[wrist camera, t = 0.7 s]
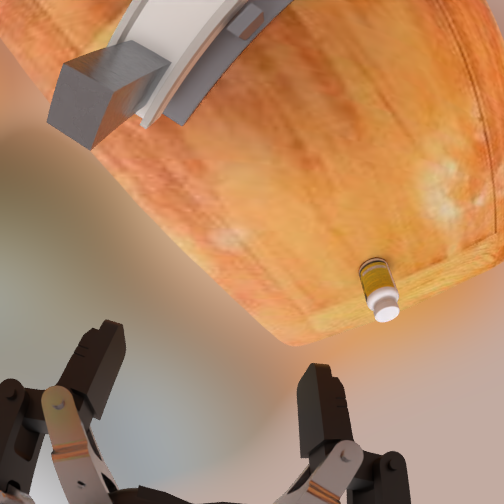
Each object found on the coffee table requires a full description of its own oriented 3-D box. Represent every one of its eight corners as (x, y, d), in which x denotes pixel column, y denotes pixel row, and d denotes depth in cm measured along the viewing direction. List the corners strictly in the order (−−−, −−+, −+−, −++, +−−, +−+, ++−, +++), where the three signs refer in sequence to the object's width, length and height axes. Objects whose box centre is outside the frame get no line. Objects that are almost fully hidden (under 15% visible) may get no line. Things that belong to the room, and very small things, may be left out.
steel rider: (109, 83, 20) (46, 122, 14) (131, 39, 17) (63, 63, 11) (145, 105, 22) (90, 150, 16) (171, 62, 19) (114, 91, 13)
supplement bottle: (352, 269, 46) (364, 316, 38) (378, 251, 43) (395, 297, 35) (368, 284, 48) (380, 328, 40) (392, 268, 45) (409, 312, 38)
